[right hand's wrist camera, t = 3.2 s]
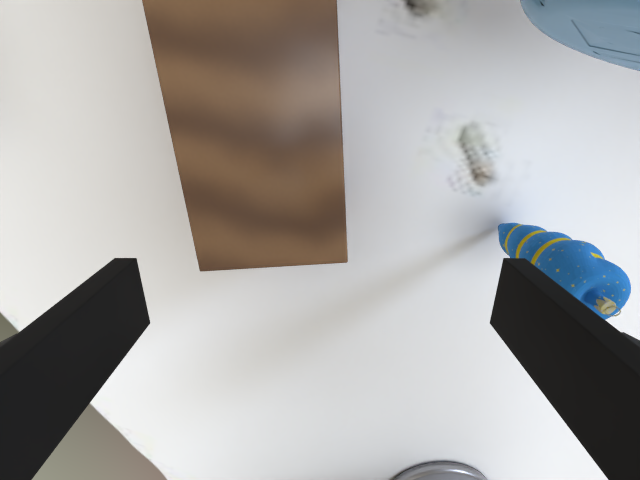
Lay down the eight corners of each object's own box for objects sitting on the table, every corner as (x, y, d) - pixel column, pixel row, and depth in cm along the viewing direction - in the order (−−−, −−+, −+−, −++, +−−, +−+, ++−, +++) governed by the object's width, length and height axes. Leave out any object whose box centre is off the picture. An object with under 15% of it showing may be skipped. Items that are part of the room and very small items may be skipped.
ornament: (535, 233, 35) (679, 322, 21) (487, 261, 36) (594, 363, 22) (512, 191, 33) (652, 257, 19) (463, 222, 34) (561, 305, 20)
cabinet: (190, -6, 28) (129, -57, 19) (329, -17, 27) (333, -74, 18) (230, 228, 35) (199, 271, 26) (340, 221, 34) (347, 263, 26)
